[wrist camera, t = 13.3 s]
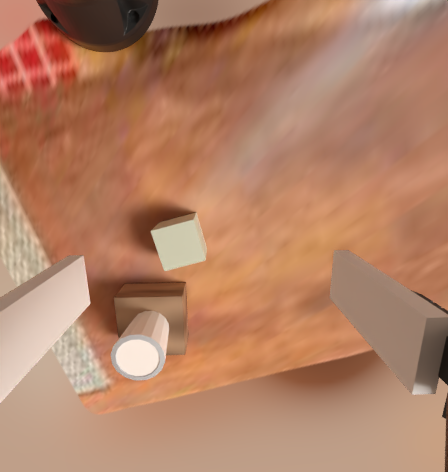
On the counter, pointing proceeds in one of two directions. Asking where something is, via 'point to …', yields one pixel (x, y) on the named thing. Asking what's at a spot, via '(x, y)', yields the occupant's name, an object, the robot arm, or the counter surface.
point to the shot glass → (142, 347)
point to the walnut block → (156, 309)
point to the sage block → (179, 241)
